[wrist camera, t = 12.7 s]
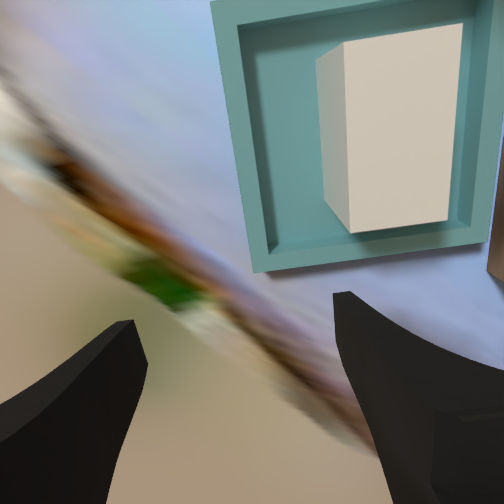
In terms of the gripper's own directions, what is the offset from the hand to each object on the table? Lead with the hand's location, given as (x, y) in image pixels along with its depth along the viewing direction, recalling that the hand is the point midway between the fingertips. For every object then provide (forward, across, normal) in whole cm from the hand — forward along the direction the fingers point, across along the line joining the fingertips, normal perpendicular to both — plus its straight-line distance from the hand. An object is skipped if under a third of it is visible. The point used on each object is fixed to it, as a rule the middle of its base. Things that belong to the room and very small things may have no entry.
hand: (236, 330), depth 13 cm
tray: (+9, -7, -5) cm, 13 cm away
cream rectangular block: (+9, -7, -5) cm, 12 cm away
